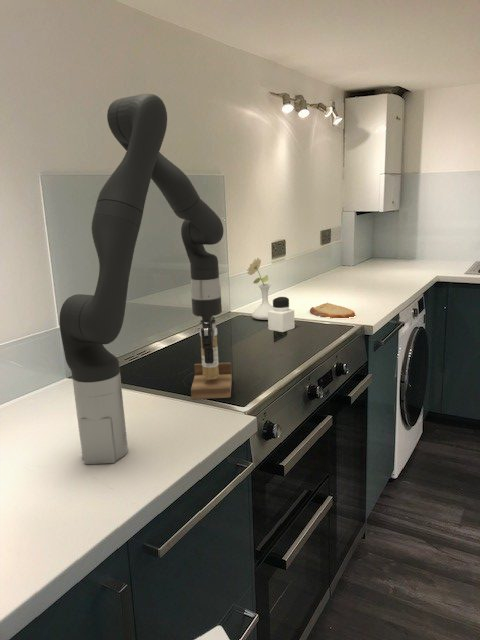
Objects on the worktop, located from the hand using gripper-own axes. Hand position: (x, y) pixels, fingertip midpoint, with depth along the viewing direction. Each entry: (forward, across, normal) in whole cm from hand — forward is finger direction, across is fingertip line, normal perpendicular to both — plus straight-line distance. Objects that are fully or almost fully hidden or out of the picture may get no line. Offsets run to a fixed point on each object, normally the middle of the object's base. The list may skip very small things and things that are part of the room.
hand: (210, 359), depth 141 cm
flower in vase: (+9, +78, -16) cm, 80 cm away
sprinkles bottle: (+5, 0, 0) cm, 5 cm away
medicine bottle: (+9, +61, -22) cm, 66 cm away
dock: (+9, +1, 0) cm, 9 cm away
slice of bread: (+9, +82, -44) cm, 93 cm away
